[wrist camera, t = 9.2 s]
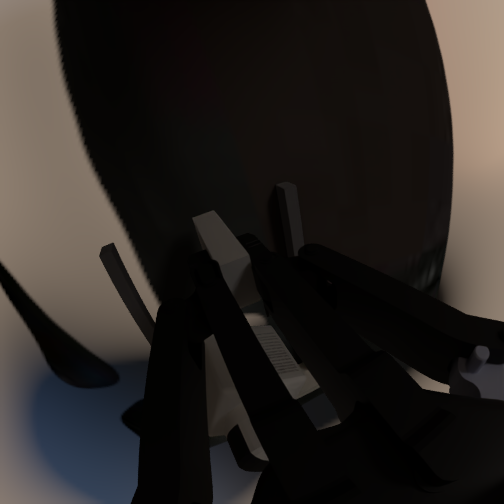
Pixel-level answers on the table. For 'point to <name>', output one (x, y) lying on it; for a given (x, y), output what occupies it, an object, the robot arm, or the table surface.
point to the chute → (139, 310)
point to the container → (230, 405)
